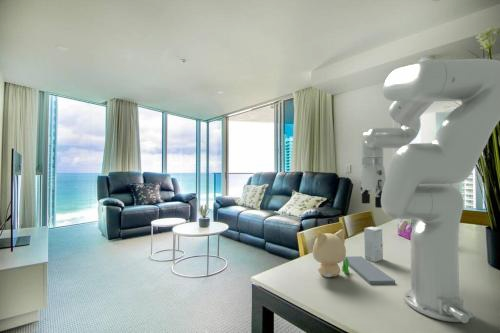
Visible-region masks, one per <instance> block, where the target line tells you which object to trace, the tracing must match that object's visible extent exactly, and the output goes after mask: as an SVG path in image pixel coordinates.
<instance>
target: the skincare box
mask: <svg viewBox="0 0 500 333" xmlns="http://www.w3.org/2000/svg"><path fill="white" fill-rule="evenodd" d="M363 229H364V230H363V231H364V234H363V236H364V239H363V240H364V259H366V260H367V261H369V262H375V263H376V262H379V261H382V260H383V259H384V248H383V245H384V244H383V243H384V242H383V227H382V228H381V227H376V226H369V227H364V228H363Z"/></svg>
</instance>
